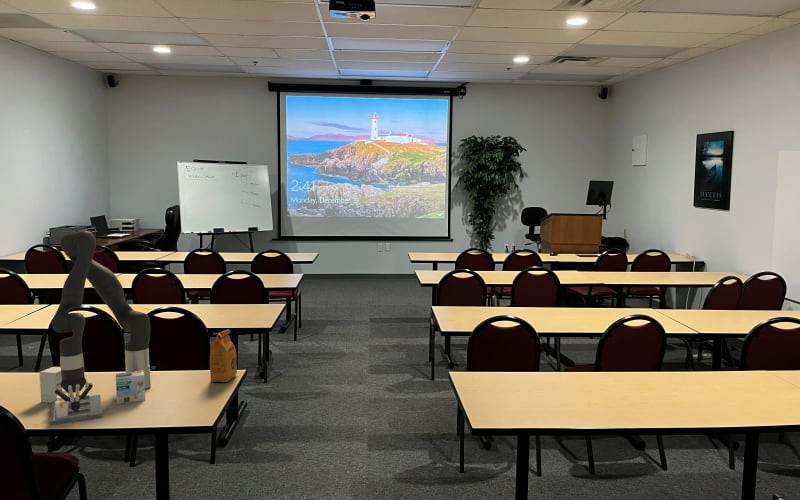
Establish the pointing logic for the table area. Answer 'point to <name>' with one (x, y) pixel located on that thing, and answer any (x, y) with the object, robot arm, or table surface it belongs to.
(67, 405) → the handle
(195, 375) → the table surface
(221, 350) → the coffee package
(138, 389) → the light bulb box
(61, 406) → the block
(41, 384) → the supplement box
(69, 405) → the grey flat slotted panel
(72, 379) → the robot arm
